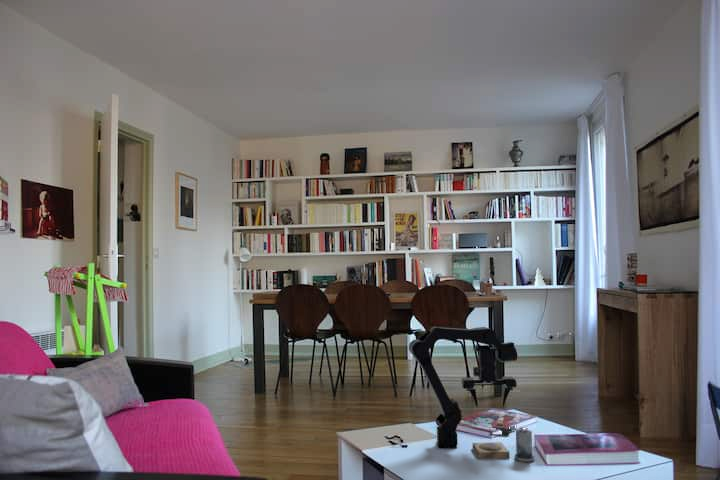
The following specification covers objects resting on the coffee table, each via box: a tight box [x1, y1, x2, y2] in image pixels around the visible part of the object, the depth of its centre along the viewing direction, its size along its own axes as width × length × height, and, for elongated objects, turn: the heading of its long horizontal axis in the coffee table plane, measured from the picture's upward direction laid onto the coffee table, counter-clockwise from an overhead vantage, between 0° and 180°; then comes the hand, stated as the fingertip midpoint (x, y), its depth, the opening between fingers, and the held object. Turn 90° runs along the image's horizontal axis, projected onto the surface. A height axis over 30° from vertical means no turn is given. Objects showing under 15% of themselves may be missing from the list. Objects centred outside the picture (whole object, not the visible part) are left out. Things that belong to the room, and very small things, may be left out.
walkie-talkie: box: [492, 417, 516, 436], centre depth 215 cm, size 9×4×20 cm
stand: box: [472, 441, 510, 460], centre depth 186 cm, size 10×10×2 cm
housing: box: [514, 426, 535, 464], centre depth 180 cm, size 6×6×10 cm
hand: (489, 406), depth 197 cm, fingers open, 9 cm apart
